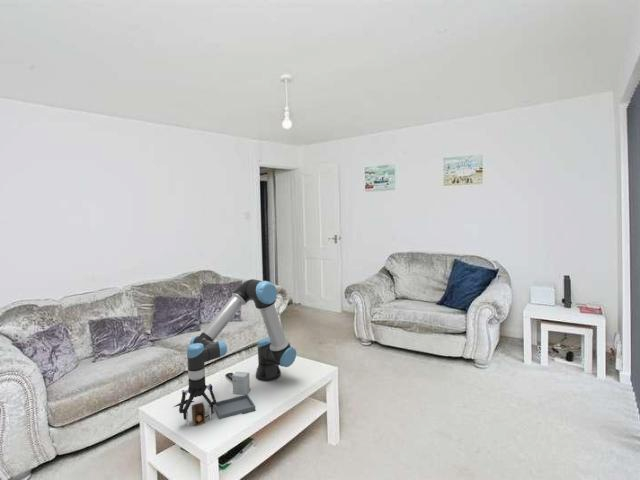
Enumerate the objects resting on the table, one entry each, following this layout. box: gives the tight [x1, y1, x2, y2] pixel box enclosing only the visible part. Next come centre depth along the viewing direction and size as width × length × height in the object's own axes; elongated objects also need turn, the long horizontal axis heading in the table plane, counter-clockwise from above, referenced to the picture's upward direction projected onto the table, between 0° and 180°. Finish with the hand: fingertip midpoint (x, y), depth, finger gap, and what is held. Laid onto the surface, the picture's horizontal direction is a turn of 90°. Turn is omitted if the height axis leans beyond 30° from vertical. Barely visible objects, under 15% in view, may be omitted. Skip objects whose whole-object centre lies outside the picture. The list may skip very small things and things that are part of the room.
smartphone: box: [173, 398, 195, 408], centre depth 188 cm, size 8×17×1 cm, turn 150°
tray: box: [213, 393, 257, 420], centre depth 186 cm, size 18×14×2 cm
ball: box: [196, 415, 202, 422], centre depth 174 cm, size 3×3×3 cm
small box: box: [231, 371, 251, 396], centre depth 204 cm, size 8×6×10 cm
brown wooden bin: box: [191, 402, 207, 427], centre depth 174 cm, size 5×6×8 cm
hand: (198, 422), depth 174 cm, fingers open, 10 cm apart
